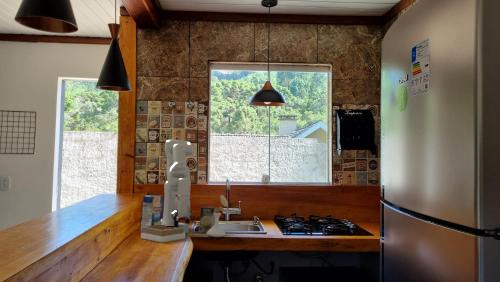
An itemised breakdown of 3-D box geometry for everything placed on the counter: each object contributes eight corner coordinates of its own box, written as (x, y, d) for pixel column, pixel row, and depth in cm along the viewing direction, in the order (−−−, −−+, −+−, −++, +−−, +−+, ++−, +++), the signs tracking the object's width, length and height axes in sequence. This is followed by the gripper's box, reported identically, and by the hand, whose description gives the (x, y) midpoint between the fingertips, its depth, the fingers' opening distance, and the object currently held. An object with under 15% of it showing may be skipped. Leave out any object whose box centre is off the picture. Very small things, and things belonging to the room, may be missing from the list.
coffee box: (198, 232, 218) (200, 207, 220) (200, 231, 224) (202, 206, 226) (212, 234, 217) (214, 208, 219) (214, 232, 223) (216, 207, 225)
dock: (140, 238, 191) (141, 226, 191) (165, 234, 206) (165, 224, 206) (161, 242, 182) (162, 230, 183) (185, 238, 197) (185, 227, 198)
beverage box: (140, 233, 204) (143, 196, 207) (150, 231, 215) (153, 195, 217) (150, 234, 202) (153, 196, 205) (160, 232, 213) (163, 196, 215)
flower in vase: (214, 239, 200) (217, 195, 203) (202, 236, 208) (205, 194, 210) (231, 237, 210) (233, 195, 212) (218, 234, 217) (220, 194, 220)
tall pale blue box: (173, 233, 211) (173, 223, 212) (178, 232, 215) (179, 222, 216) (182, 235, 207) (183, 224, 208) (188, 234, 211) (189, 224, 212)
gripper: (188, 197, 222) (186, 225, 220) (168, 198, 208) (166, 227, 206) (197, 198, 218) (195, 226, 216) (177, 198, 204) (175, 228, 202)
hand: (181, 226), depth 211 cm, fingers open, 9 cm apart
